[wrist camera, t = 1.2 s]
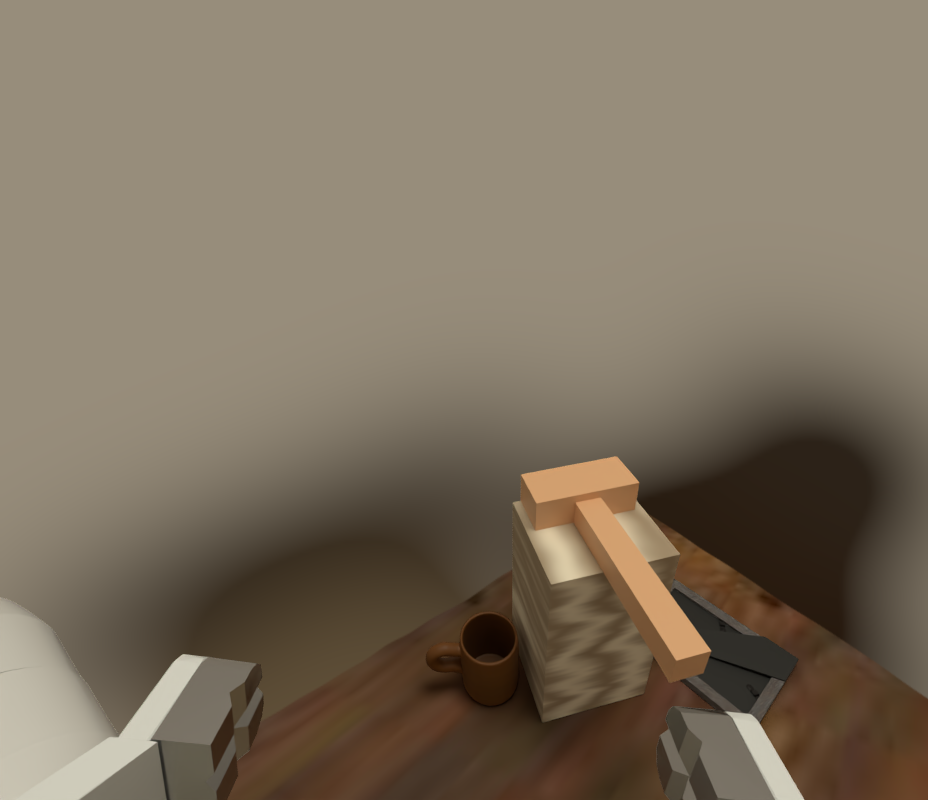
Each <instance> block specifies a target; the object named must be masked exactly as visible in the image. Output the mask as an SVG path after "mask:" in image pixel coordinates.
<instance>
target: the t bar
mask: <svg viewBox="0 0 928 800" xmlns="http://www.w3.org/2000/svg"><path fill="white" fill-rule="evenodd" d="M638 488H639V482H638V481H637V479H636V478H635V477H634V476H633V475H632V474H631V472H630V471H629V470H628V469H627V468H626V467H625V465H624V464H623V463H622V462H621V461H620V460H619V459H618V457H617V456H616V457H611V458H606V459H600V460H595V461H590V462H585V463H579V464H574V465H569V466H563V467H559V468H553V469H548V470H542V471H538V472H532V473H526V474H522V475H521V502H522V504H523V506H524V508H525V510H526V513H527V515H528V517H529V519H530V521H531V523H532V525H533V527H534V529H535V531H537V530H542V529H546V528H551V527H556V526H560V525H565V524H570V523H574V524H575V526H576V528H577V529H578V531H579V533H580V534H581V536H582V538H583V539H584V541H585V543H586V544H587V546H588V548H589V549H590V551H591V553H592V554H593V556H594V558H595V559H596V561H597V563H598V564H599V566H600V568H601V569H602V571H603V573H604V574H605V576H606V578H607V579H608V581H609V583H610V584H611V586H612V588H613V589H614V591H615V593H616V594H617V596H618V598H619V599H620V601H621V603H622V604H623V606H624V608H625V609H626V611H627V613H628V614H629V616H630V618H631V619H632V621H633V623H634V624H635V626H636V628H637V629H638V631H639V633H640V634H641V636H642V638H643V639H644V641H645V643H646V644H647V646H648V648H649V649H650V651H651V653H652V654H653V656H654V658H655V659H656V661H657V663H658V664H659V666H660V668H661V669H662V671H663V673H664V674H665V676H666V678H667V679H668V681H669V683H671V682H674V681H678V680H681V679H685V678H689V677H692V676H696V675H699V674H703V673H704V670H705V667H706V665H707V662H708V659H709V656H710V654H711V650H710V648H709V647H708V646H707V644H706V643H705V641H704V640H703V639H702V637H701V636H700V635H699V633H698V632H697V630H696V629H695V628H694V626H693V625H692V623H691V622H690V621H689V619H688V618H687V616H686V615H685V614H684V612H683V611H682V609H681V608H680V607H679V605H678V604H677V602H676V601H675V600H674V598H673V597H672V596H671V594H670V593H669V591H668V590H667V589H666V587H665V586H664V584H663V583H662V582H661V580H660V579H659V577H658V576H657V575H656V573H655V572H654V570H653V569H652V568H651V566H650V565H649V564H648V562H647V561H646V559H645V558H644V557H643V555H642V554H641V552H640V551H639V550H638V548H637V547H636V545H635V544H634V543H633V541H632V540H631V538H630V537H629V536H628V534H627V533H626V532H625V530H624V529H623V527H622V526H621V525H620V523H619V522H618V520H617V519H616V518H615V516H614V515H613V514H617V513H622V512H626V511H631V510H635V505H636V499H637V494H638Z"/></svg>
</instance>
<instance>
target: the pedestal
mask: <svg viewBox="0 0 928 800" xmlns="http://www.w3.org/2000/svg"><path fill="white" fill-rule="evenodd" d="M613 515H614V516H615V518H616V519H617V520H618V522H619V523H620V525H621V526H622V527H623V529H624V530H625V532H626V533H627V534H628V536H629V537H630V538H631V540H632V541H633V543H634V544H635V545H636V547H637V548H638V550H639V551H640V552H641V554H642V555H643V557H644V558H645V559H646V561H647V562H648V564H649V565H650V566H651V568H652V569H653V570H654V572H655V573H656V575H657V576H658V577H659V579H660V580H661V582H662V583H663V584H664V586H665V587H666V589H667V590H668V591H669V593H670V591H671V587H672V584H673V580H674V576H675V572H676V568H677V564H678V561H679V557H680V554H679V552H678V551H677V550H676V549H675V547H674V546H673V545H672V544H671V543H670V541H669V540H668V539H667V538H666V536H665V535H664V534H663V533H662V531H661V530H660V529H659V528H658V526H657V525H656V524H655V523H654V522H653V520H652V519H651V518H650V517H649V515H648V514H647V513H646V512H645V511H644V509H643V508H642V507H641V506H640V505H639V503H638V502H637V501H636V505H635V510H631V511H626V512H622V513H617V514H613ZM513 625H514V626H515V628H516V631H517V634H518V642H519V656H520V659H521V662H522V665H523V668H524V671H525V674H526V677H527V680H528V683H529V685H530V688H531V691H532V694H533V697H534V700H535V703H536V706H537V709H538V712H539V715H540V718H541V721H542V723H543V722H547V721H550V720H554V719H557V718H561V717H564V716H568V715H571V714H575V713H578V712H582V711H585V710H589V709H592V708H596V707H599V706H603V705H606V704H610V703H613V702H617V701H620V700H624V699H627V698H631V697H634V696H638V695H641V694H644V691H645V687H646V683H647V680H648V676H649V672H650V668H651V664H652V660H653V657H654V656H653V654H652V653H651V651H650V649H649V648H648V646H647V644H646V643H645V641H644V639H643V638H642V636H641V634H640V633H639V631H638V629H637V628H636V626H635V624H634V623H633V621H632V619H631V618H630V616H629V614H628V613H627V611H626V609H625V608H624V606H623V604H622V603H621V601H620V599H619V598H618V596H617V594H616V593H615V591H614V589H613V588H612V586H611V584H610V583H609V581H608V579H607V578H606V576H605V574H604V573H603V571H602V569H601V568H600V566H599V564H598V563H597V561H596V559H595V558H594V556H593V554H592V553H591V551H590V549H589V548H588V546H587V544H586V543H585V541H584V539H583V538H582V536H581V534H580V533H579V531H578V529H577V528H576V526H575V524H574V523H570V524H565V525H560V526H556V527H551V528H546V529H542V530H537V531H535V529H534V527H533V525H532V523H531V521H530V519H529V517H528V515H527V513H526V510H525V508H524V506H523V504H522V502H521V501H517V502H513Z"/></svg>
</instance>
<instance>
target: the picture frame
mask: <svg viewBox="0 0 928 800" xmlns="http://www.w3.org/2000/svg"><path fill="white" fill-rule="evenodd" d="M670 594H671V596H672V597H673V598H674V600H675V601H676V602H677V604H678V605H679V607H680V608H681V609H682V611H683V612H684V614H685V615H686V616H687V618H688V619H689V621H690V622H691V623H692V625H693V626H694V628H695V629H696V630H697V632H698V633H699V635H700V636H701V637H702V639H703V640H704V641H705V643H706V644H707V646H708V647H709V648H710V650H711V654H710V656H709V659H708V662H707V665H706V667H705V670H704V673H703V674H699V675H696V676H692V677H689V678H685V679H681V681H682V682H683V683H684V684H685V685H687V686H688V687H689V688H690V689H691V690H693V691H694V692H695V693H696V694H698V695H699V696H700V697H701V698H702V699H704V700H705V701H706V702H707V703H709V704H710V705H711V706H712V707H713V708H715V709H716V710H721V711H723V712H725V711H726V712H735V713H745V714H751V715H752V716H754V717H755V718H756V719H757V720H758V722H759V723H760V722H761V720H762V718H763V717H764V715H765V714H766V712H767V710H768V709H769V707H770V706H771V704H772V702H773V701H774V699H775V697H776V696H777V694H778V693H779V691H780V689H781V688H782V686H783V685H784V683H785V681H786V680H787V678H788V677H789V675H790V673H791V672H792V670H793V669H794V667H795V665H796V663H797V661H798V658H796V657H795V656H793V655H791V654H790V653H788V652H787V651H785V650H784V649H782V648H781V647H779V646H778V645H776V644H775V643H773V642H772V641H770V640H769V639H767V638H766V637H762V636H759V635H758V634H756V633H755V632H753V631H752V630H750V629H749V628H747V627H746V626H744V625H743V624H741V623H740V622H738V621H737V620H735V619H734V618H732V617H731V616H729V615H728V614H726V613H725V612H723V611H722V610H720V609H719V608H717V607H716V606H714V605H713V604H711V603H710V602H708V601H707V600H705V599H704V598H702V597H701V596H699V595H698V594H696V593H695V592H693V591H692V590H690V589H689V588H687V587H686V586H684V585H683V584H681V583H680V582H678V581H677V580H675V579H674V580H673V584H672V587H671V591H670ZM653 658H654V657H653ZM654 659H655V658H654ZM655 660H656V659H655Z"/></svg>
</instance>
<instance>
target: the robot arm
mask: <svg viewBox="0 0 928 800" xmlns="http://www.w3.org/2000/svg"><path fill="white" fill-rule="evenodd" d="M261 679H262V670H261V664H255V663H247V662H239V661H233V660H225V659H218V658H210V657H202V656H193V655H185V654H183V655H181V656H180V657H179V658H178V659H176V660H175V661H174V662H173V663H172V665H171V666H170V667H169V669H168V670H167V671H166V673H165V674H164V675H163V677H162V678H161V680H160V681H159V682H158V684H157V685H156V686H155V688H154V689H153V690H152V692H151V693H150V694H149V696H148V697H147V699H146V700H145V701H144V703H143V704H142V705H141V707H140V708H139V710H138V711H137V712H136V714H135V715H134V716H133V718H132V719H131V721H130V722H129V723H128V724H127V726H126V727H125V729H124V730H123V732H122V733H121V734H120V735H119V734H118V733H117V731H116V730H115V728H114V727H113V725H112V724H111V722H110V721H109V719H108V717H107V716H106V714H105V712H104V711H103V709H102V707H101V706H100V704H99V702H98V701H97V699H96V697H95V696H94V694H93V692H92V691H91V689H90V687H89V686H88V684H87V683H86V681H85V680H84V679H83V678H82V677H81V676H80V674H79V672H78V671H77V669H76V667H75V666H74V664H73V662H72V660H71V659H70V657H69V655H68V654H67V652H66V650H65V648H64V647H63V645H62V643H61V641H60V640H59V638H58V636H57V635H56V633H55V632H54V630H53V629H52V628H51V627H49V626H48V625H47V624H46V623H45V622H43V621H42V620H41V619H39V618H38V617H36V616H35V615H34V614H33V613H31V612H30V611H28V610H26V609H25V608H23V607H22V606H20V605H19V604H17V603H15V602H13V601H11V600H9V599H6V598H2V597H0V800H227V798H228V796H229V794H230V792H231V790H232V788H233V785H234V783H235V781H236V779H237V777H238V771H237V760H238V759H240V758H241V757H242V756H243V755H244V754H245V753H247V752H248V751H249V750H250V748H251V746H252V743H253V741H254V739H255V736H256V734H257V731H258V728H259V724H260V721H261V717H262V711H263V704H264V703H263V693H262V692H261V691H260V690H259V689H258V685H259V683H260V681H261ZM666 722H667V724H668V727H669V729H668V730H667V731H666V732H664V733H663V734H661V735H660V737H659V741H658V745H657V768H658V773H659V778H660V781H661V784H662V787H663V790H664V793H665V794H666V796H667V797H668V798H669V799H670V800H804V798H803V797H802V795H801V793H800V792H799V790H798V788H797V786H796V785H795V783H794V781H793V780H792V778H791V776H790V775H789V773H788V771H787V769H786V768H785V766H784V764H783V763H782V761H781V759H780V758H779V756H778V754H777V752H776V751H775V749H774V747H773V746H772V744H771V742H770V741H769V739H768V737H767V735H766V734H765V732H764V730H763V729H762V727H761V725H760V724H759V722H758V720H757V719H756V718H755V717H754V716H752V715H751V714H745V713H735V712H726V711H725V712H723V711H721V710H711V709H700V708H688V707H677V706H673V707H672V708H671V709H669V711H668V714H667V716H666Z"/></svg>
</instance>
